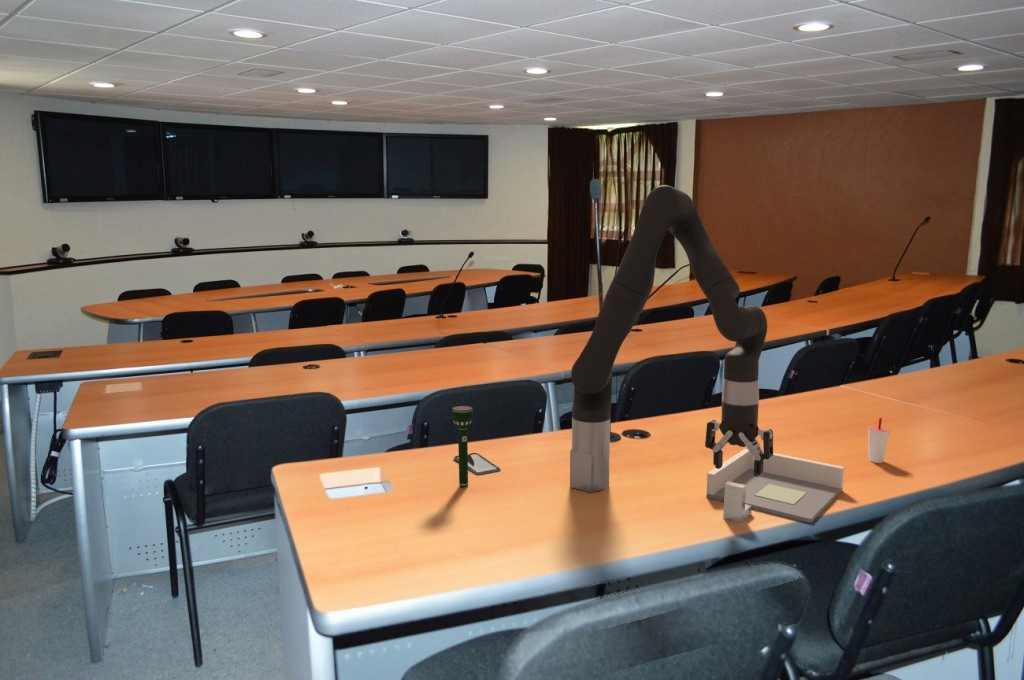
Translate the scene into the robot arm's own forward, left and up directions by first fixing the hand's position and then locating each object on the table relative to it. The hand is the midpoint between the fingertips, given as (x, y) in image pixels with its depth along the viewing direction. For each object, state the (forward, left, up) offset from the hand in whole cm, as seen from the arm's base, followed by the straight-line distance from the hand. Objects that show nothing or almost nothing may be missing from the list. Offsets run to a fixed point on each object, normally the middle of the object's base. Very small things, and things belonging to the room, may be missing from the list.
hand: (737, 471), depth 163 cm
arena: (+19, -2, -11) cm, 22 cm away
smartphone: (-9, +68, -11) cm, 70 cm away
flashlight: (-23, +60, -11) cm, 65 cm away
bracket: (+1, 0, -11) cm, 11 cm away
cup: (+59, -15, -11) cm, 62 cm away
